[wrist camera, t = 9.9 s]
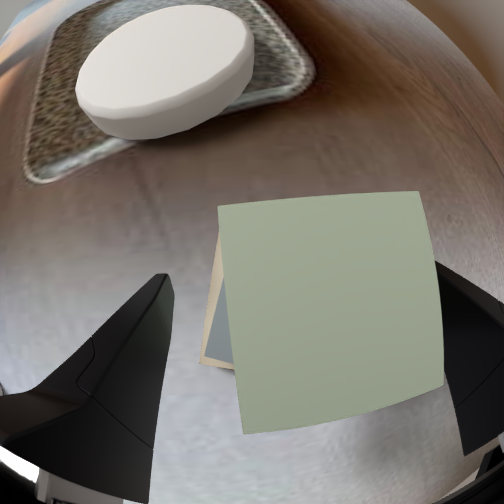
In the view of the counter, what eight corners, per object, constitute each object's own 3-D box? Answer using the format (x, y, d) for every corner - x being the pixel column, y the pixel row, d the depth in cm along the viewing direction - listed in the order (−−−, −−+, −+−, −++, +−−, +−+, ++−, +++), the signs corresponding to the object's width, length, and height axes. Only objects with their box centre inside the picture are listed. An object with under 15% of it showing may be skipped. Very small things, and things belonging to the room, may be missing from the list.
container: (178, 173, 23) (163, 146, 19) (63, 113, 25) (45, 93, 21) (286, 50, 26) (289, 21, 22) (163, 19, 28) (156, -3, 24)
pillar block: (314, 266, 17) (418, 191, 5) (323, 337, 16) (443, 385, 5) (242, 275, 17) (217, 206, 5) (251, 347, 16) (243, 434, 5)
